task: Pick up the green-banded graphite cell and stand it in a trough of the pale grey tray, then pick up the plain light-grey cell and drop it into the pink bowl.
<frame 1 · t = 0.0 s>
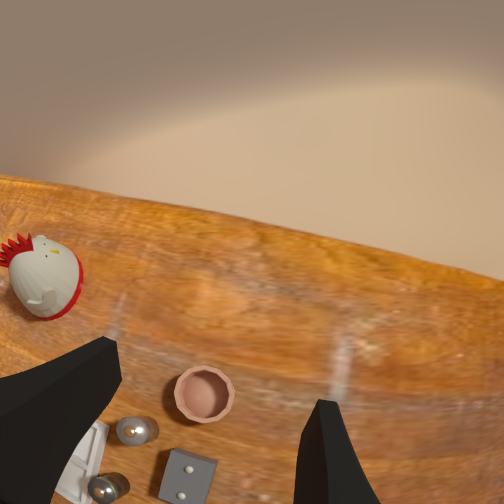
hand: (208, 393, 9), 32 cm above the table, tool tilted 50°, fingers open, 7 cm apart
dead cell: (146, 429, 35), on the table
tray: (71, 452, 32), on the table
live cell: (117, 483, 30), on the table
pink bowl: (207, 395, 38), on the table
kitchen timer: (54, 284, 46), on the table
grey box with knobs: (190, 477, 32), on the table
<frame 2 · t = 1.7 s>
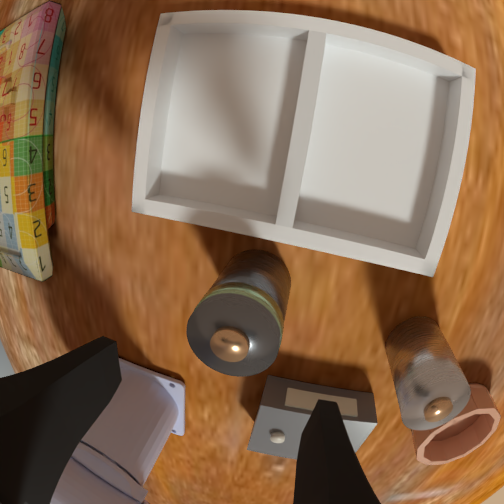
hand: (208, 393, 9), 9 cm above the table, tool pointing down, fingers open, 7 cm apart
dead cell: (413, 342, 17), on the table
tray: (304, 128, 14), on the table
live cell: (256, 281, 18), on the table
pink bowl: (451, 415, 19), on the table
puzzle game: (25, 140, 18), on the table
grey box with knobs: (310, 410, 21), on the table
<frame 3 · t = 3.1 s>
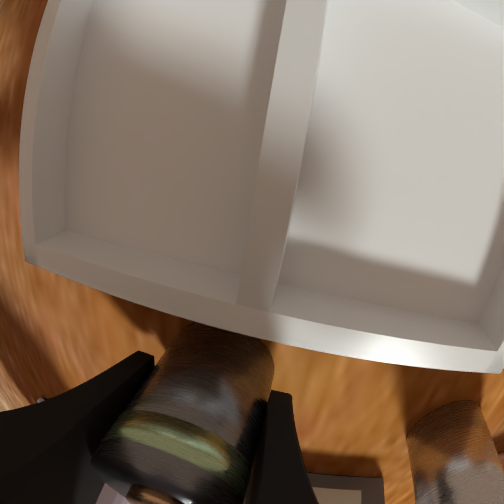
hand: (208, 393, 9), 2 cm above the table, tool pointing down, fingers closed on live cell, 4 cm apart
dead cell: (444, 428, 10), on the table
tray: (297, 109, 7), on the table
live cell: (221, 364, 11), on the table, touching gripper
grey box with knobs: (302, 492, 14), on the table
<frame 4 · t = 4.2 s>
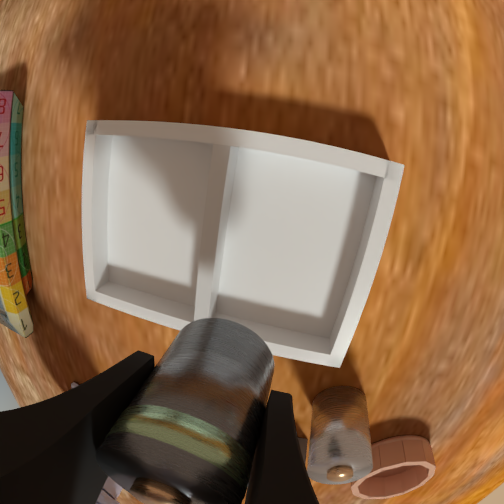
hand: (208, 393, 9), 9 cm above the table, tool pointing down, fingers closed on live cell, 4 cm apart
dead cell: (339, 404, 19), on the table
tray: (222, 230, 17), on the table
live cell: (222, 361, 11), point 7 cm above the table, touching gripper
pink bowl: (391, 457, 21), on the table
puzzle game: (2, 208, 21), on the table
when the fingers open (4 cm above the table, at t = 5.7 s): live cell stays where it is, resting on tray.
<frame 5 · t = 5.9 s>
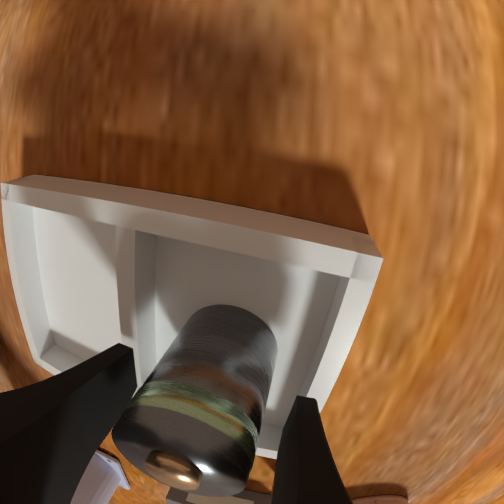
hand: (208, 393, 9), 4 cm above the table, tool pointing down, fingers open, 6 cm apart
tray: (155, 311, 13), on the table
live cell: (229, 346, 12), point 1 cm above the table, touching tray
grey box with knobs: (222, 496, 19), on the table
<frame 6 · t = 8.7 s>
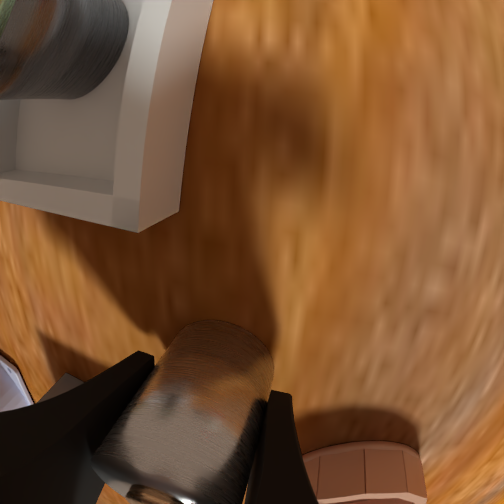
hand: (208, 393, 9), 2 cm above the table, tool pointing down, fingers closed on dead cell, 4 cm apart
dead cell: (221, 364, 11), on the table, touching gripper
tray: (35, 62, 8), on the table
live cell: (81, 44, 7), point 1 cm above the table, touching tray
pink bowl: (351, 476, 12), on the table
grey box with knobs: (129, 430, 14), on the table
when the fingers open (4 cm above the table, at t = 11.4 s): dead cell drops 2 cm, resting on pink bowl.
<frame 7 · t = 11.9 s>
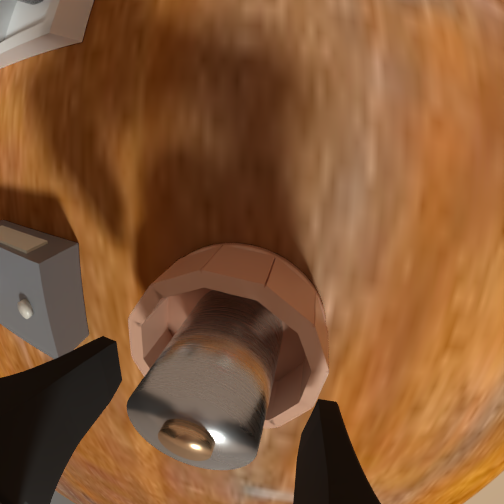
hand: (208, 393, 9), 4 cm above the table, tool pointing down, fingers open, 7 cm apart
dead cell: (237, 327, 13), resting on pink bowl
pink bowl: (238, 325, 13), on the table
grey box with knobs: (39, 274, 15), on the table
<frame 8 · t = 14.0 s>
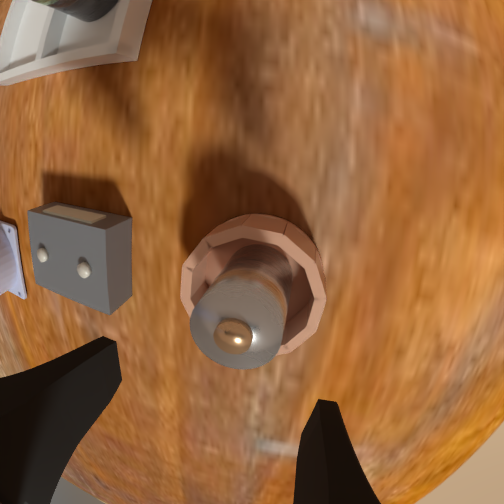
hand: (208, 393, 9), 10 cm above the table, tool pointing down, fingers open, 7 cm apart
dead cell: (259, 276, 18), resting on pink bowl
tray: (72, 12, 14), on the table
pink bowl: (259, 276, 18), on the table
grey box with knobs: (89, 246, 20), on the table
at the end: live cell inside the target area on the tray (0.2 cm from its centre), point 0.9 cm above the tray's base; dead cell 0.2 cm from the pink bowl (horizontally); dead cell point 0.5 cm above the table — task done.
